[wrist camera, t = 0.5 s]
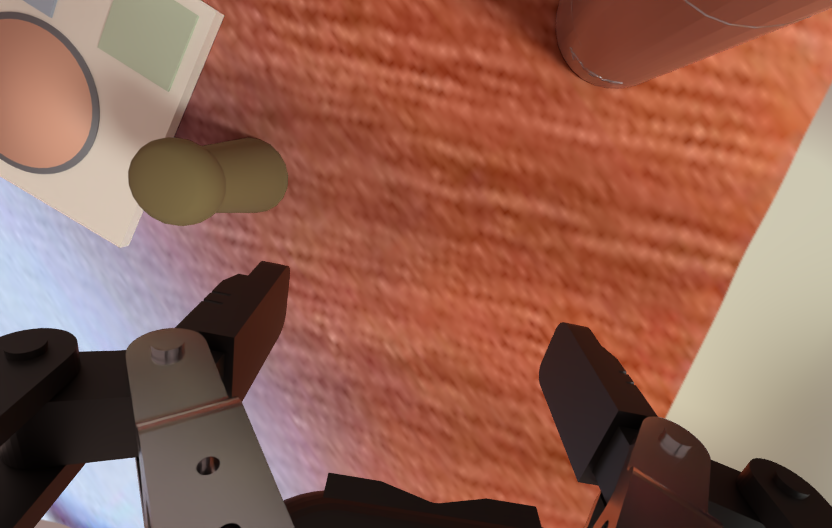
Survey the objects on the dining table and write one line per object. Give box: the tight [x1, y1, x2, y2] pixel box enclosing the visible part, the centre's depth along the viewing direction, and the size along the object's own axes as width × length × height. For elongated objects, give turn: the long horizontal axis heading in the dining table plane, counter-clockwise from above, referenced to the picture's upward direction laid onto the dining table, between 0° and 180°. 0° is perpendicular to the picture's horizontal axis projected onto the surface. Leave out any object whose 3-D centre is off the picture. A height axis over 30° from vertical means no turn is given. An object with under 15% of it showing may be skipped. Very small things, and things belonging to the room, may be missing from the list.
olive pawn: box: [128, 137, 288, 226], centre depth 28 cm, size 6×6×11 cm
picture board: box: [0, 0, 224, 248], centre depth 32 cm, size 21×18×1 cm
